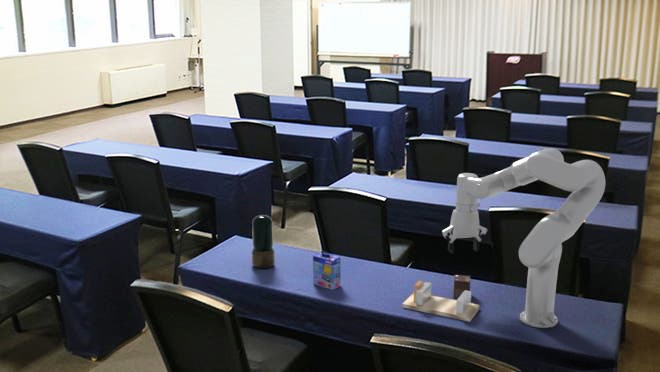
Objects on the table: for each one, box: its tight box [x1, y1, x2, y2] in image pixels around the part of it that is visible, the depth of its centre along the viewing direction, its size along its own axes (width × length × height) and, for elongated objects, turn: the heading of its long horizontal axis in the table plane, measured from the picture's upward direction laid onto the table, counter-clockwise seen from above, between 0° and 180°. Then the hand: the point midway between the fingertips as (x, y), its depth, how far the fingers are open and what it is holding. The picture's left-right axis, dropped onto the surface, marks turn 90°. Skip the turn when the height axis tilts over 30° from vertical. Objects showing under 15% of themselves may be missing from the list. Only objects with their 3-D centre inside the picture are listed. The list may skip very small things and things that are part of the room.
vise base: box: [401, 292, 480, 322], centre depth 243 cm, size 25×12×2 cm, turn 63°
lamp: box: [251, 214, 276, 269], centre depth 281 cm, size 10×10×22 cm
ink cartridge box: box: [312, 250, 342, 291], centre depth 262 cm, size 10×6×14 cm, turn 56°
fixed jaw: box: [456, 290, 472, 315], centre depth 239 cm, size 2×10×5 cm, turn 153°
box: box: [452, 274, 472, 300], centre depth 253 cm, size 6×6×7 cm
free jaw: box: [413, 280, 432, 306], centre depth 246 cm, size 4×10×6 cm, turn 153°
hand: (463, 251), depth 250 cm, fingers open, 9 cm apart
